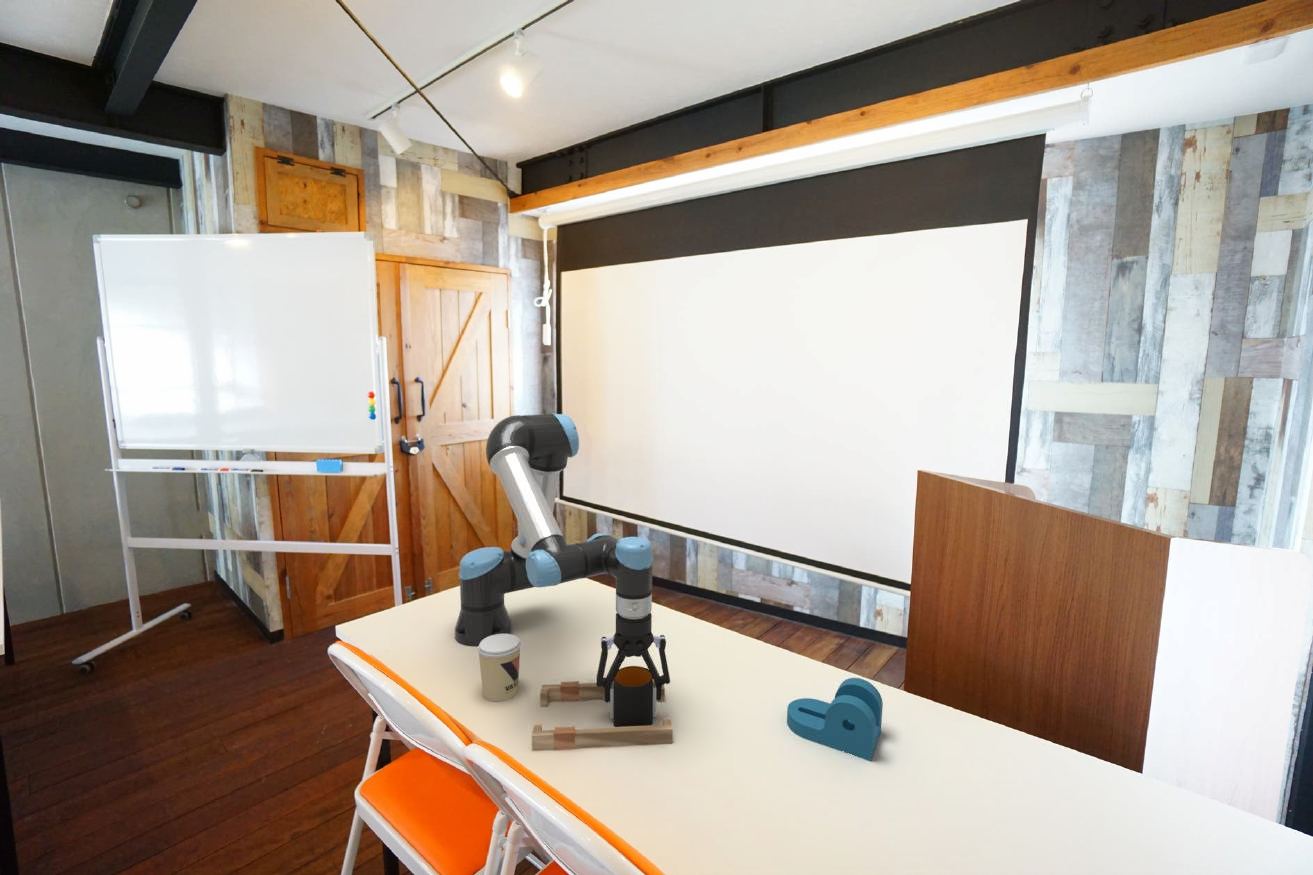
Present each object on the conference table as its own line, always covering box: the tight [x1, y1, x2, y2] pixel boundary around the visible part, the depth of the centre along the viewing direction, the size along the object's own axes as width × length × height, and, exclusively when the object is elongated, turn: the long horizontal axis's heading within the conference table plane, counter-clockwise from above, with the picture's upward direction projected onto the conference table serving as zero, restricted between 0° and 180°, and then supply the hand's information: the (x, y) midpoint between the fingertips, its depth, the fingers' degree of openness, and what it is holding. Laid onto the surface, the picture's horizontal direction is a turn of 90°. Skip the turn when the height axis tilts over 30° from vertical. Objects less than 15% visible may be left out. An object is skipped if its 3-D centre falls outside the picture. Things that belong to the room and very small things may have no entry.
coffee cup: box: [477, 633, 522, 702], centre depth 130 cm, size 9×9×12 cm
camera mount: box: [786, 677, 883, 762], centre depth 117 cm, size 18×10×10 cm, turn 59°
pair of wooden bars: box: [531, 680, 673, 751], centre depth 121 cm, size 18×28×3 cm
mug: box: [613, 665, 654, 727], centre depth 121 cm, size 8×12×10 cm
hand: (632, 713), depth 121 cm, fingers closed on mug, 8 cm apart
